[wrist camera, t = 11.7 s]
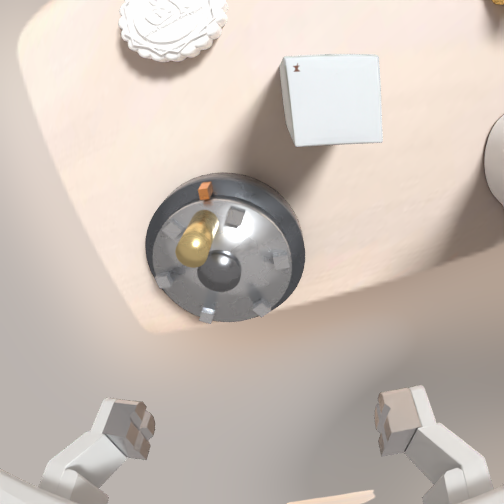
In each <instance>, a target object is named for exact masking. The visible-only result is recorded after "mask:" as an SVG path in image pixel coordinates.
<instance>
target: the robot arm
mask: <svg viewBox="0 0 504 504" xmlns="http://www.w3.org/2000/svg"><path fill="white" fill-rule="evenodd" d="M484 166H485V175H486V180H487V183H488V186H489V188H490V190H491V192H492V194H493V195H494V196H495V197H496V199H497V200H499V201H500V202H501V204H502V205H503V207H504V115H503V116H502V117H500V118H499V120H498V121H497V122H496V123H495V125H494V127H493V128H492V130H491V132H490V135H489V138H488V141H487V145H486V149H485V159H484ZM378 401H379V404H377V405H376V408H375V425H376V430H377V431H378V432H379V433H381V434H380V437H379V440H378V442H379V447H380V452H381V456H387V455H393V454H398V453H403V452H405V453H404V454H406V456H407V457H408V458H409V459H410V460H411V461H412V462H413V463H414V464H415V465H416V467H417V468H418V469H419V470H420V471H421V472H422V473H423V474H424V475H425V476H426V477H427V478H428V479H429V480H430V481H431V482H432V483H433V484H434V485H433V486H432V487H431V488H430V489H429V490H428V491H427V492H426V493H425V494H424V496H423V497H422V499H423V504H504V485H501V486H499V487H497V488H495V489H494V488H493V485H492V481H491V478H490V474H489V471H488V468H487V464H486V461H485V458H484V457H483V456H482V455H481V454H480V453H478V452H477V451H476V450H474V449H473V448H472V447H471V446H469V445H468V444H467V443H465V442H464V441H463V440H462V439H460V438H459V437H458V436H457V435H455V434H454V433H453V432H451V431H450V430H449V429H448V428H446V427H445V426H444V425H443V424H441V423H436V420H435V417H434V414H433V411H432V408H431V405H430V402H429V399H428V396H427V394H426V391H425V388H424V387H423V385H417V386H412V387H408V388H407V387H406V388H402V389H396V390H391V391H386V392H381V393H380V394H379V396H378ZM154 431H155V421H154V417H153V416H152V414H151V413H150V412H148V411H146V405H145V404H144V403H143V402H139V401H130V400H121V399H114V398H106V399H105V400H104V401H103V402H102V404H101V407H100V409H99V412H98V414H97V416H96V419H95V421H94V424H93V426H92V429H91V431H87V432H85V433H84V434H83V435H82V436H80V437H79V438H78V439H77V440H75V441H74V442H73V443H71V444H70V445H69V446H68V447H66V448H65V449H64V450H62V451H61V452H60V453H59V454H57V455H56V456H55V457H53V458H52V459H51V460H50V461H49V462H48V464H47V467H46V469H45V471H44V474H43V477H42V479H41V481H40V484H39V487H37V486H34V485H32V484H30V483H28V482H26V481H24V480H22V479H20V478H18V477H16V476H14V475H11V474H10V473H8V472H6V471H4V470H2V469H0V504H107V503H108V499H109V497H108V495H107V494H105V493H104V492H103V491H101V490H100V489H99V488H100V487H101V486H102V484H103V483H104V482H105V481H106V480H107V479H108V478H109V477H110V476H111V475H112V474H113V473H114V472H115V471H116V470H117V469H118V468H119V467H120V466H121V465H122V463H124V462H125V460H126V459H127V457H129V458H135V459H142V460H147V457H148V453H149V449H150V444H149V441H148V440H149V439H150V438H151V437H153V435H154Z"/></svg>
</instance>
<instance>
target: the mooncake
mask: <svg viewBox="0 0 504 504" xmlns="http://www.w3.org/2000/svg"><path fill="white" fill-rule="evenodd" d="M124 1H125V3H124V4H123V5H122V6H121V7H120V11H119V13H120V15H121V18H120V19H119V22H118V25H119V27H120V29H122V32H121V37H122V39H123V40H124V41H127V42H128V47H129V49H130V50H132V51H136V52H138V54H139V55H140V56H141V57H143V58H149V59H153V60H155V61H159V62H169V61H176V62H180V61H183V60H185V59H186V57H190V58H192V57H196V56H197V55H199V53H200V52H201V50H206V49H208V48H210V47H211V45H212V43H213V40H214V39H217V38H218V37H219V36H220V35H221V33H222V29H221V27H222V26H224V25H225V24H226V22H227V16H226V14H225V13H226V12H227V10H228V4H227V2H226V1H225V0H124Z"/></svg>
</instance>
